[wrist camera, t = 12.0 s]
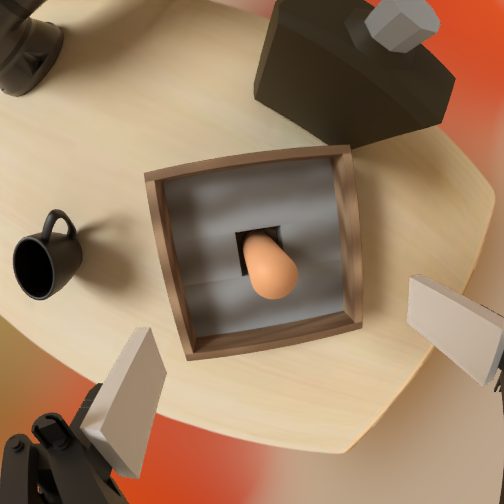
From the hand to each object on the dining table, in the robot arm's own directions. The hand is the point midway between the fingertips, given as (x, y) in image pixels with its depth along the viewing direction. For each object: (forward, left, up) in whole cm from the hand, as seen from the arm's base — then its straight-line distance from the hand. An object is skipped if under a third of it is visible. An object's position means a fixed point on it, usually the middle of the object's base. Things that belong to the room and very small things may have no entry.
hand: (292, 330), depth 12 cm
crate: (+1, +1, -25) cm, 25 cm away
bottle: (-17, +11, -25) cm, 32 cm away
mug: (-4, -26, -25) cm, 36 cm away
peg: (+1, +1, -25) cm, 25 cm away
